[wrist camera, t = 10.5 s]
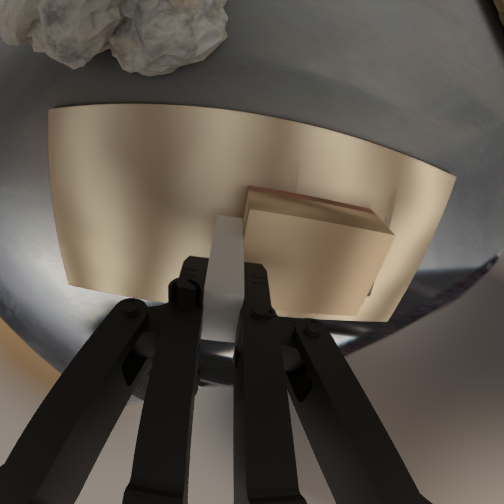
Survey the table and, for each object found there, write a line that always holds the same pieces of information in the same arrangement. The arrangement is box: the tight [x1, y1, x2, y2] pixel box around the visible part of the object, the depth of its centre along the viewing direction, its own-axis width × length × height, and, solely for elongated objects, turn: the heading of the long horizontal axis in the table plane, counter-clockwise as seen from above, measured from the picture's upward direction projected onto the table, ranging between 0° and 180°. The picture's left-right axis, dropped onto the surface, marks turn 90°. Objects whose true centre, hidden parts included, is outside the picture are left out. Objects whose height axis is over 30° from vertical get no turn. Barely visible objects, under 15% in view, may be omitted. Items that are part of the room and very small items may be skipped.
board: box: [48, 103, 456, 322], centre depth 17 cm, size 28×14×1 cm, turn 80°
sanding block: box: [242, 185, 395, 316], centre depth 16 cm, size 8×6×4 cm
